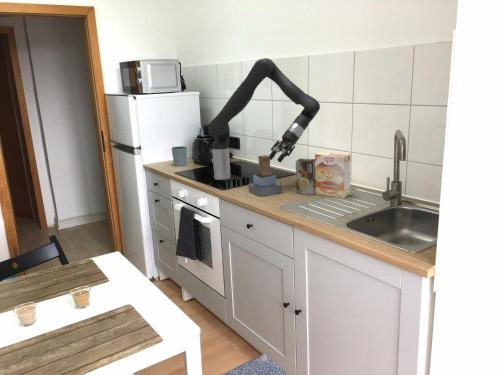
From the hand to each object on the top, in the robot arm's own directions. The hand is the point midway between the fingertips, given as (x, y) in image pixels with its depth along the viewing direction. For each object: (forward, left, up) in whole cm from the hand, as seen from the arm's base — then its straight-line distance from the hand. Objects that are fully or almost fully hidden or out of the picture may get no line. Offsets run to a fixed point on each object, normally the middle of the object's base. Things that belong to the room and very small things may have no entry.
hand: (274, 160), depth 208 cm
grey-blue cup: (-94, -16, -16) cm, 97 cm away
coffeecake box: (+23, +17, -16) cm, 33 cm away
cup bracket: (0, -6, -15) cm, 16 cm away
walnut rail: (0, -5, -11) cm, 13 cm away
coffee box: (+13, +10, -16) cm, 23 cm away
